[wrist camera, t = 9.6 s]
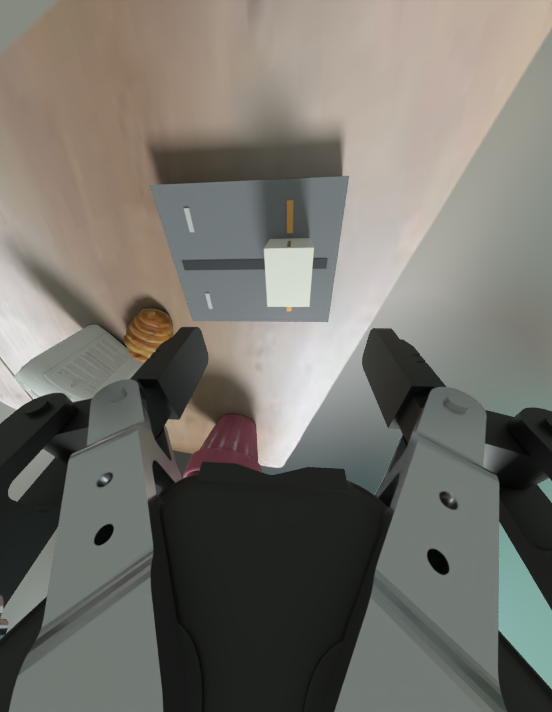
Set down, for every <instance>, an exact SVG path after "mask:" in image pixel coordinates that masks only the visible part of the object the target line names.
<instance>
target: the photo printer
mask: <svg viewBox="0 0 552 712" xmlns="http://www.w3.org/2000/svg"><path fill="white" fill-rule="evenodd" d="M142 365H143V362H140V361H138V360H136V359H134V358H133V357H131V356H130V355H129V354H128V349H127V348H126V347H125V346H124V345H122V344H121V343H120V342H119V341H118V340H116V339H115V338H114V337H113V336H112V335H110V334H109V333H108V332H107V331H105V330H104V329H103V328H101V327H100V326H98V325H89V326H87V327H85V328H84V329H82V330H80V331H79V332H77V333H75V334H73V335H72V336H70V337H68V338H67V339H65V340H63V341H62V342H60V343H58V344H56V345H55V346H53V347H51V348H50V349H48V350H46V351H45V352H43V353H41V354H40V355H38V356H36V357H35V358H33V359H31V360H30V361H29V362H28V363H27V364H25V365H24V366H23V367H22V368H21V370H20V371H19V372H18V373H17V374H16V375H15V376H14V378H15V379H16V381H17V382H18V383H19V384H20V385H21V386H22V387H23V388H24V389H25V390H26V391H27V392H28V393H29V394H31V395H32V396H33V397H35V398H38V397H41V396H43V395H47V394H51V393H63V394H65V395H66V396H67V397H68V398H69V399H70V400H71V401H72V402H76V401H81V400H86V399H91V398H93V397H94V395H95V394H96V393H97V392H98V391H100V390H101V389H102V388H104V387H105V386H107V385H109V384H111V383H114V382H116V381H120V380H125V379H130V378H131V377H132V376H133V375H134V374H135V373H136V372H137V370H138V369H139V368H140V367H141V366H142Z"/></svg>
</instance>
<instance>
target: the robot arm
mask: <svg viewBox="0 0 552 712" xmlns="http://www.w3.org/2000/svg"><path fill="white" fill-rule="evenodd" d="M207 364H208V352H207V349H206V345H205V342H204V339H203V335H202V332H201V330H200V328H198V327H181V328H180V329H179V330H178V332H177V333H176V334H175V335H174V336H173V337H171V338H169V339H168V340H166V341H165V342H163V343H162V344H161V345H160V346H159V347H158V348H157V349H156V350H155V352H154V353H153V354H152V355H151V356H150V358H148V359H147V360H146V361H145V363H144V364H143V365H142V366H141V367H140V368H139V369H138V370H137V372H136V373H135V374H134V375H133V376H132V377H131V378H130V379H125V380H120V381H116V382H114V383H111V384H109V385H107V386H105V387H104V388H102V389H101V390H100V391H98V392H97V393H96V394H95V395H94V397H93V398H91V399H86V400H81V401H76V402H72V401H71V400H70V399H69V398H68V397H67V396H66V395H65V394H63V393H51V394H47V395H43V396H41V397H38V398H36V399H34V400H32V401H30V402H28V403H26V404H25V405H23V406H22V407H20V408H19V409H18V410H17V411H15V412H14V413H13V414H12V415H10V417H8V418H7V419H5V420H4V421H3V422H2V423H1V424H0V617H1V614H2V610H3V608H4V607H5V605H6V604H7V602H8V601H9V599H10V598H11V596H12V595H13V593H14V592H15V590H16V589H17V587H18V586H19V584H20V583H21V581H22V580H23V578H24V577H25V575H26V574H27V572H28V571H29V569H30V567H31V566H32V565H33V563H34V562H35V560H36V559H37V557H38V556H39V554H40V553H41V551H42V550H43V548H44V547H45V545H46V544H47V542H48V541H49V539H50V538H51V536H52V535H53V533H54V532H55V530H56V529H57V527H58V531H57V537H56V544H55V550H54V556H53V562H52V569H51V576H50V582H49V588H48V594H47V597H46V598H45V599H44V600H43V601H41V603H39V604H38V605H37V606H36V607H35V608H34V609H33V610H32V611H31V612H29V613H28V614H27V615H26V616H25V617H24V618H23V619H22V620H21V621H20V622H19V623H17V624H16V625H15V626H14V627H13V628H12V629H11V630H10V631H9V632H8V633H6V632H7V629H8V621H7V620H6V619H0V712H552V689H551V688H550V687H549V686H548V685H547V684H546V682H544V680H543V679H542V678H541V677H540V676H539V675H538V674H537V672H536V671H535V670H534V669H533V668H532V667H531V666H530V665H529V664H528V663H527V661H526V660H525V659H524V658H523V657H522V656H521V655H520V654H519V652H518V651H517V650H516V649H515V648H514V647H513V646H512V645H511V643H510V642H509V641H508V640H507V639H506V638H505V637H504V636H503V635H502V634H501V632H500V631H499V630H498V590H499V589H498V588H499V586H498V585H499V522H500V523H501V525H502V526H503V528H504V530H505V532H506V533H507V535H508V537H509V538H510V540H511V542H512V543H513V545H514V547H515V549H516V550H517V552H518V554H519V555H520V557H521V559H522V560H523V562H524V564H525V565H526V567H527V569H528V570H529V572H530V574H531V576H532V577H533V579H534V581H535V582H536V584H537V586H538V587H539V589H540V591H541V593H542V594H543V596H544V598H545V599H546V601H547V603H548V604H549V606H550V608H551V609H552V503H551V501H550V500H549V499H548V498H547V496H546V495H545V494H544V493H543V492H542V490H541V489H540V488H539V486H538V485H537V484H538V483H540V482H542V481H544V480H546V479H548V478H550V479H551V480H552V411H548V410H545V409H540V408H525V409H523V410H522V411H521V412H520V413H519V414H517V415H516V416H515V417H511V416H507V415H503V414H499V413H495V412H491V411H487V410H485V409H484V408H483V406H482V405H481V404H480V403H479V402H478V401H477V400H476V399H474V398H473V397H471V396H470V395H468V394H466V393H464V392H462V391H460V390H457V389H454V388H449V387H446V386H445V385H444V383H443V382H442V381H441V380H440V378H439V377H438V376H437V375H436V374H435V372H434V371H433V370H432V369H431V367H429V365H428V364H427V363H425V360H424V359H423V358H422V357H421V356H420V354H419V353H418V351H417V350H416V349H415V348H414V347H413V346H412V345H410V344H409V343H407V342H406V341H404V340H400V339H399V338H398V336H397V335H396V334H395V332H394V331H393V330H392V329H388V328H387V329H386V328H385V329H384V328H373V329H372V330H371V331H370V334H369V337H368V340H367V344H366V347H365V350H364V354H363V358H362V365H363V369H364V371H365V374H366V376H367V378H368V381H369V383H370V386H371V388H372V391H373V393H374V395H375V398H376V400H377V403H378V405H379V407H380V410H381V412H382V415H383V417H384V419H385V422H386V424H387V427H388V428H394V429H395V428H396V429H401V431H402V433H403V435H402V436H401V438H400V440H399V442H398V445H397V447H396V450H395V452H394V454H393V457H392V459H391V462H390V464H389V467H388V469H387V472H386V474H385V477H384V478H383V481H382V482H381V484H380V486H379V488H378V490H377V492H376V494H375V496H374V495H373V494H372V493H370V492H369V491H367V490H366V489H364V488H362V487H361V486H359V485H357V484H355V483H353V482H350V481H347V480H346V476H345V470H344V469H334V468H315V467H307V468H302V469H298V470H294V471H289V472H285V473H281V474H276V475H267V474H264V473H262V472H259V471H256V470H253V469H250V468H248V467H245V466H242V465H239V464H236V463H219V462H202V464H201V467H200V470H199V473H195V474H193V475H190V476H187V477H185V478H183V479H182V477H181V475H180V473H179V471H178V468H177V466H176V462H175V458H174V454H173V450H172V447H171V443H170V439H169V435H168V431H167V428H166V426H165V424H166V422H167V420H168V419H177V420H179V419H180V417H181V415H182V413H183V411H184V410H185V408H186V406H187V404H188V402H189V400H190V398H191V396H192V394H193V392H194V390H195V388H196V386H197V384H198V382H199V380H200V378H201V376H202V374H203V372H204V370H205V368H206V366H207ZM42 449H45V450H46V451H48V452H49V453H51V454H52V455H54V456H55V459H54V460H53V461H52V462H51V463H50V464H49V466H48V467H47V468H46V469H45V470H44V471H43V473H42V474H41V475H40V476H39V477H38V478H37V479H36V481H35V482H34V483H33V484H32V485H31V487H30V488H29V489H28V490H27V491H26V492H25V494H24V495H23V496H22V497H21V498H20V499H19V501H18V502H16V501H14V500H11V499H10V498H9V496H8V489H9V486H10V484H11V483H12V481H13V480H14V479H15V478H16V477H17V476H18V475H19V473H20V472H21V471H22V470H23V469H24V468H25V467H26V466H27V465H28V464H29V463H30V462H31V461H32V460H33V459H34V457H35V456H36V455H37V454H38V453H39V452H40V451H41V450H42Z"/></svg>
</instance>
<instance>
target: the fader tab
mask: <svg viewBox="0 0 552 712" xmlns="http://www.w3.org/2000/svg"><path fill="white" fill-rule="evenodd" d="M313 254H314V246H313V244H312V241H311V239H310V238H289V239H270V240H269V241H268V243H267V244H266V246H265V247H264V260H265V277H266V294H267V307H309V306H310V293H311V280H312V267H313Z"/></svg>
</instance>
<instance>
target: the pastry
mask: <svg viewBox="0 0 552 712" xmlns="http://www.w3.org/2000/svg"><path fill="white" fill-rule="evenodd" d="M171 337H173V323H172V321H171V319H170V316H169V315H168V314H167V313H165V312H163V311H161V310H159V309H155V308H150V309H142V310H141V311H140V313H139V314H138V315H136V316H135V317H134V319H133V321H132V322H131V323H130V324H129V325H128V327H127V333H126V335H125V336H124V343H125V345H126V346H127V349H128V354H129V355H130V356H131V357H133V358H134V359H136V360H138V361H140V362H145V361H146V360H147V359H148V358H150V356H151V355H152V354H153V353H154V352H155V350H156V349H157V348H158V347H159V346H160V345H161V344H162V343H163V342H165V341H166V340H168V339H169V338H171Z"/></svg>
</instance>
